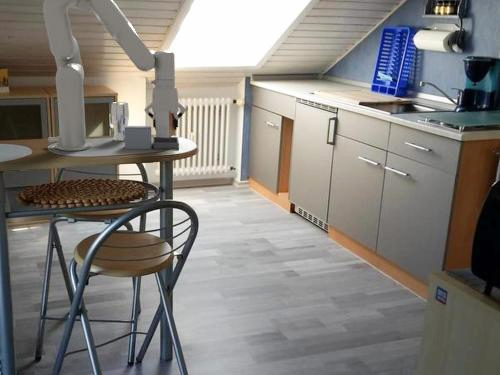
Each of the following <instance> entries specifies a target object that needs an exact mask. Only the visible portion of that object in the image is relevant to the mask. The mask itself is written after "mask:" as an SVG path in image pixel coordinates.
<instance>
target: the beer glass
mask: <svg viewBox="0 0 500 375" xmlns="http://www.w3.org/2000/svg"><path fill="white" fill-rule="evenodd" d="M110 107H111V112H110V114H111V122H112V126H113V141H115V142H125V129H124V127H125V126H129V119H130V114H129V113H130V110H129V103H128V102H123V101H118V102H116V101H115V102H111V106H110Z"/></svg>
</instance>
